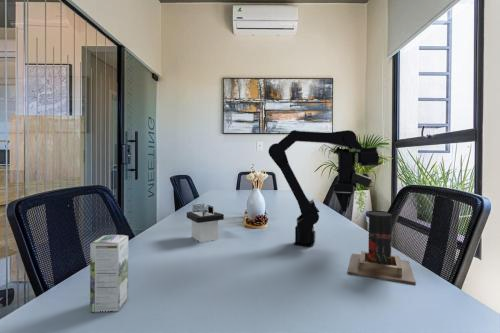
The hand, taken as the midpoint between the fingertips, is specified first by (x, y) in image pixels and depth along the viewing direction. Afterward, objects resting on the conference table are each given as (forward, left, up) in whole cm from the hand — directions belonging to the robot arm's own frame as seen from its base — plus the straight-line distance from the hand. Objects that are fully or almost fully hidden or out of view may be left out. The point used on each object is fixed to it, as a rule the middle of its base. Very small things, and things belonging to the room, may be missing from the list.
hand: (345, 209), depth 101 cm
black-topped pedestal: (-51, -13, -14) cm, 55 cm away
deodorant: (+11, -18, -13) cm, 24 cm away
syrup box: (-42, -64, -13) cm, 78 cm away
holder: (+11, -18, -13) cm, 25 cm away
